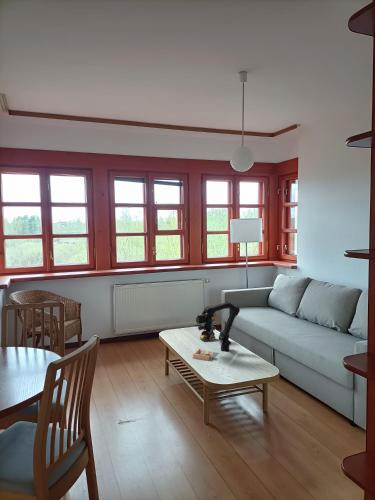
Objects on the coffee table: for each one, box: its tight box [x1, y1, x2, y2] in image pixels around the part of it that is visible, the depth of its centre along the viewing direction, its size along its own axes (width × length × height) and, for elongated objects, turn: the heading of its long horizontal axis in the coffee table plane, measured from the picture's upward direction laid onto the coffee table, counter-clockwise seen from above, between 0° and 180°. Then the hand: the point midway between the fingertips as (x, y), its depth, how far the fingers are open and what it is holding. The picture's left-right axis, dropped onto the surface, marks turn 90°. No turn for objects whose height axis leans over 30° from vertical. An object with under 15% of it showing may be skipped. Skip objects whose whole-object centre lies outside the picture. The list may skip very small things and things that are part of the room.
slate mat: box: [193, 349, 220, 362], centre depth 300 cm, size 17×19×1 cm
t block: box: [200, 349, 213, 359], centre depth 295 cm, size 9×8×4 cm
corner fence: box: [192, 347, 209, 361], centre depth 299 cm, size 14×15×3 cm
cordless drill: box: [199, 312, 218, 342], centre depth 339 cm, size 9×20×25 cm, turn 111°
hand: (208, 340), depth 304 cm, fingers closed
